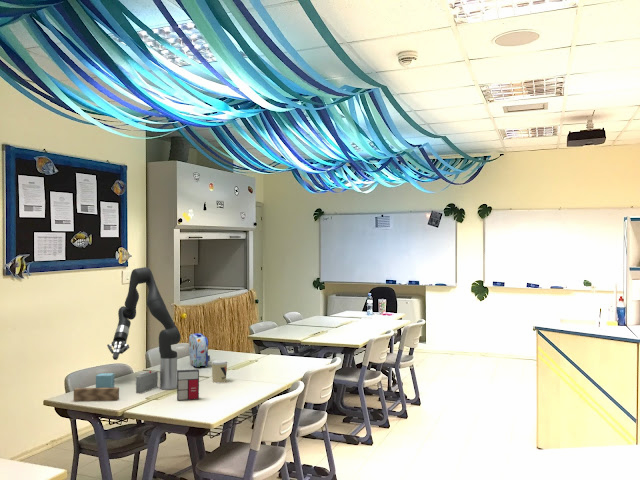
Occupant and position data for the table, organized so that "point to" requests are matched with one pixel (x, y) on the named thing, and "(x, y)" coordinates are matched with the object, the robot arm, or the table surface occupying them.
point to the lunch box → (198, 350)
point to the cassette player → (146, 381)
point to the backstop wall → (96, 394)
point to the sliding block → (105, 380)
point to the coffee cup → (219, 370)
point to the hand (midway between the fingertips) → (114, 359)
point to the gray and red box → (187, 384)
